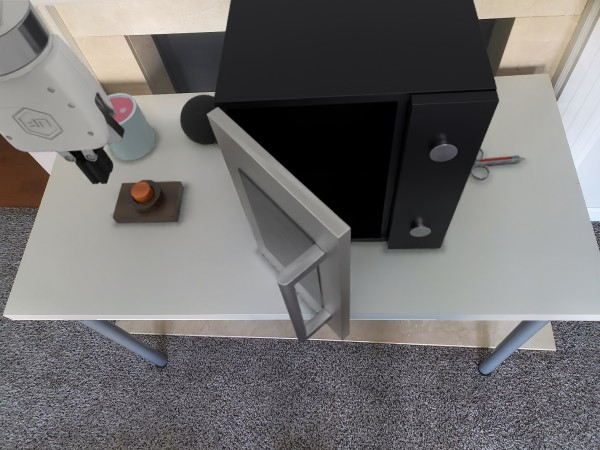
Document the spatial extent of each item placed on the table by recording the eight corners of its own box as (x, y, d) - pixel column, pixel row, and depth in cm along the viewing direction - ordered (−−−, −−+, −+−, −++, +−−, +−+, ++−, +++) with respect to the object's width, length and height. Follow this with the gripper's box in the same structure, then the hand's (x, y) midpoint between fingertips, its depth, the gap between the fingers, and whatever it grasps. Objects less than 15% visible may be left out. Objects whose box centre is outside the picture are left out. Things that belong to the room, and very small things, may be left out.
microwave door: (315, 365, 69) (289, 278, 39) (234, 271, 78) (162, 142, 48) (349, 334, 71) (351, 227, 41) (266, 246, 80) (217, 106, 50)
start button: (151, 202, 83) (147, 197, 81) (132, 203, 83) (128, 198, 82) (155, 186, 85) (151, 181, 83) (136, 187, 85) (133, 182, 83)
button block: (177, 222, 84) (170, 211, 81) (117, 223, 86) (107, 212, 82) (184, 187, 88) (177, 175, 85) (126, 189, 90) (117, 177, 86)
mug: (164, 134, 96) (145, 100, 87) (137, 166, 92) (115, 133, 84) (116, 116, 100) (94, 82, 92) (89, 145, 97) (64, 112, 88)
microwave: (440, 253, 76) (501, 104, 46) (262, 255, 79) (210, 118, 49) (421, 120, 91) (458, -58, 61) (272, 126, 94) (237, -40, 64)
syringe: (538, 177, 82) (542, 171, 80) (440, 185, 83) (441, 180, 82) (526, 144, 86) (529, 138, 84) (432, 153, 87) (433, 147, 85)
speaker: (185, 126, 97) (170, 91, 88) (230, 114, 97) (218, 78, 89) (192, 160, 92) (176, 127, 83) (239, 147, 92) (228, 113, 84)
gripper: (-108, 75, 35) (33, 203, 51) (71, 63, 34) (159, 198, 49) (-66, 16, 39) (53, 152, 55) (96, 3, 38) (170, 146, 53)
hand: (103, 173), depth 52 cm, fingers closed
